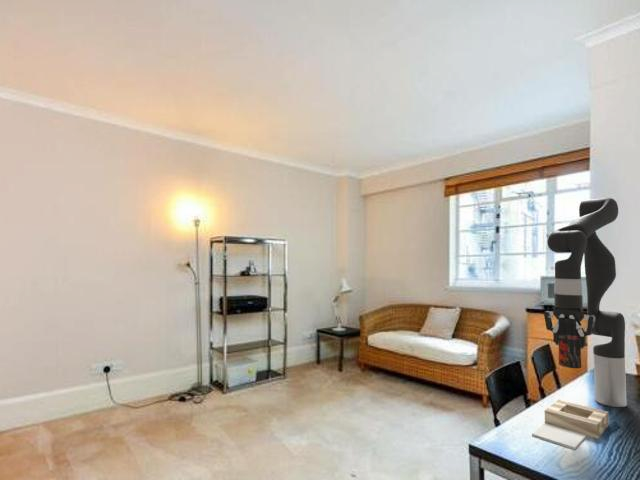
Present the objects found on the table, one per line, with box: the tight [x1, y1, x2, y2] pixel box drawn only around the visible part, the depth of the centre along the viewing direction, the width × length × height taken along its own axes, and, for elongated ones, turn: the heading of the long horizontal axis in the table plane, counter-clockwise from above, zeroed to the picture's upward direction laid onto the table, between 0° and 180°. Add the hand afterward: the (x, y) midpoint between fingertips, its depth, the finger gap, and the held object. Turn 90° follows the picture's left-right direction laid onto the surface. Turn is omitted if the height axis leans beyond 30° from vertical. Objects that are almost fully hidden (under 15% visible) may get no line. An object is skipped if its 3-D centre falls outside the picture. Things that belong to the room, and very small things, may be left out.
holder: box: [544, 399, 610, 439], centre depth 121 cm, size 14×14×4 cm
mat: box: [531, 422, 587, 451], centre depth 112 cm, size 11×11×1 cm
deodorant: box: [557, 317, 582, 369], centre depth 119 cm, size 6×6×15 cm
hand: (569, 346), depth 119 cm, fingers closed on deodorant, 6 cm apart
